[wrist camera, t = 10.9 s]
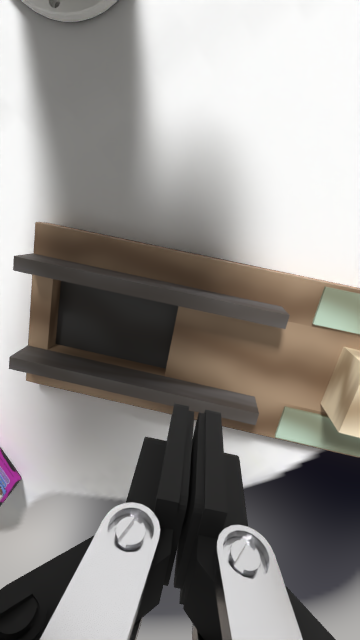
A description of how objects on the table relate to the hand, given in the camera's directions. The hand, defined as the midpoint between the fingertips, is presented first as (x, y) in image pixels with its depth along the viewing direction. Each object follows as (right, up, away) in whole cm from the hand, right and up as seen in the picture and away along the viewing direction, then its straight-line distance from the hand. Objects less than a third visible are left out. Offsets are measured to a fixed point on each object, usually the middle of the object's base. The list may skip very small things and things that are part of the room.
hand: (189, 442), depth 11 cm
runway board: (+4, +2, +20) cm, 21 cm away
